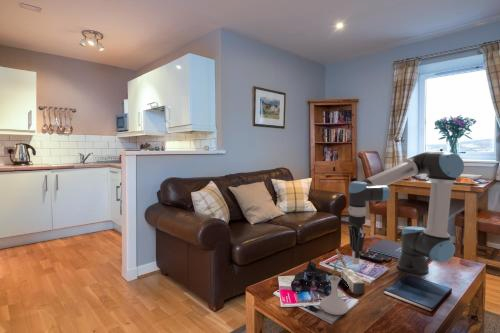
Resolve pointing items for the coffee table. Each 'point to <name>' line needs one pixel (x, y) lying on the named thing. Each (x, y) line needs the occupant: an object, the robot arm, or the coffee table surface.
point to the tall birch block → (353, 281)
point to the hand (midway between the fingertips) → (355, 263)
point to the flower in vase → (334, 294)
